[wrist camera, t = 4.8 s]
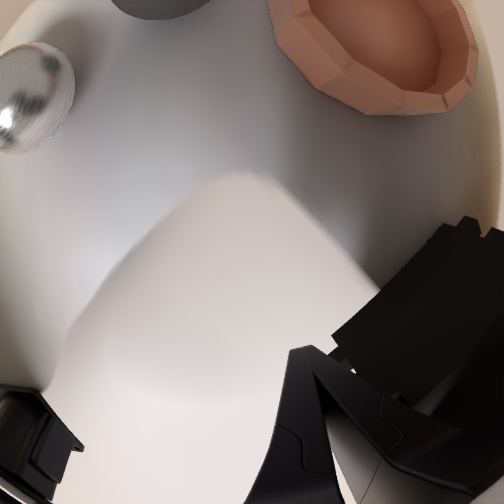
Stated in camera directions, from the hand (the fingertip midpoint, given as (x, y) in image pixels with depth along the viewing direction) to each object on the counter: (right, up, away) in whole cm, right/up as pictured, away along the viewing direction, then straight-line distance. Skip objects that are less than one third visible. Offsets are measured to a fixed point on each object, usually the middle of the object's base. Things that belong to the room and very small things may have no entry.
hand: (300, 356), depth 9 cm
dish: (+3, +13, -1) cm, 13 cm away
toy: (+8, +2, +3) cm, 9 cm away
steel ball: (-9, +9, -3) cm, 13 cm away
